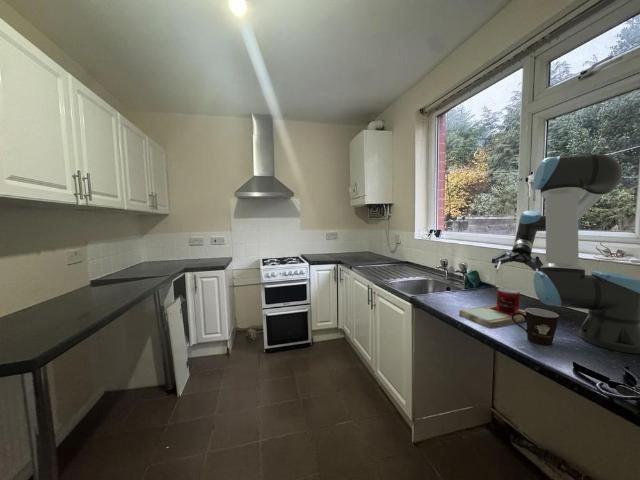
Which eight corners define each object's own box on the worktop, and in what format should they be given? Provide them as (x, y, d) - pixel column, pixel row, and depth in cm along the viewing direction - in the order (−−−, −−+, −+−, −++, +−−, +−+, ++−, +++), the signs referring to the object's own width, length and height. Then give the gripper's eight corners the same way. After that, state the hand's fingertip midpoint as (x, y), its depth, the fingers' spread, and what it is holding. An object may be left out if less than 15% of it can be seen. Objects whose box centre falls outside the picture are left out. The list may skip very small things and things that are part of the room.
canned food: (510, 312, 116) (512, 287, 115) (522, 319, 108) (524, 292, 107) (492, 311, 117) (493, 287, 116) (502, 318, 109) (504, 292, 108)
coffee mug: (560, 342, 88) (562, 313, 87) (551, 350, 83) (554, 319, 82) (518, 330, 97) (520, 304, 96) (509, 336, 93) (510, 308, 92)
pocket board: (535, 318, 109) (536, 313, 108) (490, 327, 100) (490, 322, 100) (502, 307, 122) (502, 303, 121) (459, 314, 113) (459, 309, 113)
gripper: (553, 262, 123) (550, 290, 109) (490, 251, 138) (481, 274, 125) (557, 249, 119) (555, 276, 106) (492, 238, 134) (483, 261, 121)
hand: (515, 275), depth 115 cm, fingers open, 13 cm apart
